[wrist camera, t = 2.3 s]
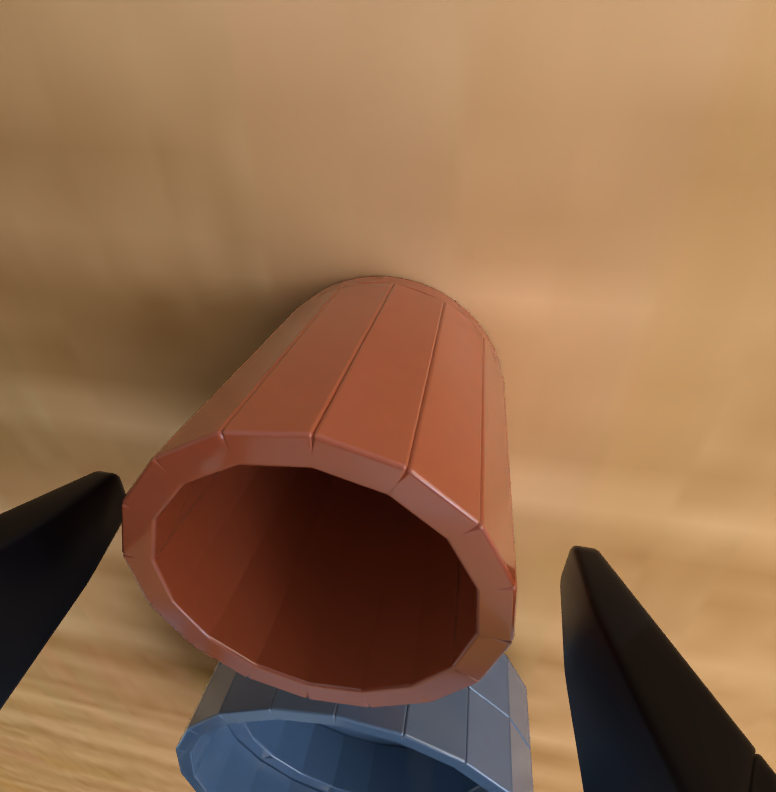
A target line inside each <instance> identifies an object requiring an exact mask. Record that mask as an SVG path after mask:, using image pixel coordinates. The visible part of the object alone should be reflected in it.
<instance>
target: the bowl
mask: <svg viewBox="0 0 776 792" xmlns="http://www.w3.org/2000/svg"><path fill="white" fill-rule="evenodd" d="M176 753H177V757H178V762H179V766H180V770H181V773H182V774H183V776H184V777H185V778H186V779H187V781H188V782H189V783H190V784H191V786H192V787H193V788H194V790H195V791H196V792H534V791H533V777H532V762H531V748H530V733H529V719H528V704H527V690H526V686H525V685H524V683H523V681H522V680H521V678H520V677H519V675H518V673H517V672H516V670H515V669H514V667H513V665H512V664H511V662H510V661H509V659H508V657H506V655H505V654H504V653H503V655H502V656H501V657H500V658H499V659H498V661H497V662H496V663H495V664H494V665H493V667H492V668H491V669H490V670H489V671H488V673H487V674H486V675H485V676H484V677H483V679H481V680H480V681H479V682H478V683H476V684H474V685H471V686H469V687H467V688H464V689H462V690H460V691H457V692H455V693H452V694H450V695H448V696H445V697H443V698H441V699H438V700H436V701H434V702H427V703H420V704H408V705H397V706H386V707H375V708H373V707H370V706H369V707H360V706H353V705H346V704H339V703H332V702H325V701H319V700H312V699H309V698H308V697H307V698H304V697H301V696H298V695H295V694H292V693H289V692H287V691H284V690H281V689H278V688H275V687H272V686H270V685H267V684H264V683H261V682H258V681H255V680H253V679H250V678H249V677H248V676H247V677H245V676H243V675H241V674H239V673H238V672H236V671H234V670H233V669H231V668H229V667H228V666H226V665H224V664H223V663H221V662H219V661H218V663H217V665H216V667H215V669H214V671H213V673H212V675H211V677H210V679H209V681H208V683H207V686H206V687H205V689H204V691H203V693H202V695H201V697H200V699H199V702H198V704H197V706H196V708H195V710H194V712H193V714H192V716H191V718H190V720H189V722H188V724H187V726H186V728H185V730H184V732H183V734H182V736H181V738H180V740H179V742H178V744H177V747H176Z"/></svg>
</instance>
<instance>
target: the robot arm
mask: <svg viewBox="0 0 776 792" xmlns="http://www.w3.org/2000/svg"><path fill="white" fill-rule="evenodd" d="M125 495H126V494H125V491H124V488H123V485H122V482H121V479H120V477H119V476H118V475H117V474H114V473H108V472H102V471H97V472H93V473H91V474H89V475H87V476H84V477H82V478H80V479H78V480H75V481H73V482H71V483H69V484H67V485H64V486H62V487H60V488H58V489H55V490H53V491H51V492H49V493H46V494H44V495H42V496H40V497H38V498H35V499H33V500H31V501H29V502H26V503H24V504H22V505H20V506H17V507H15V508H13V509H11V510H9V511H6V512H4V513H2V514H0V709H1V708H2V707H3V705H4V704H5V702H6V701H7V699H8V698H9V696H10V695H11V694H12V692H13V691H14V689H15V688H16V686H17V685H18V683H19V682H20V681H21V679H22V678H23V676H24V675H25V673H26V672H27V670H28V669H29V667H30V666H31V665H32V663H33V662H34V660H35V659H36V657H37V656H38V654H39V653H40V652H41V650H42V649H43V647H44V646H45V644H46V643H47V641H48V640H49V639H50V637H51V636H52V634H53V633H54V631H55V630H56V628H57V627H58V625H59V624H60V623H61V621H62V620H63V618H64V617H65V615H66V614H67V612H68V611H69V610H70V608H71V607H72V605H73V604H74V602H75V601H76V599H77V598H78V597H79V595H80V594H81V592H82V591H83V589H84V588H85V586H86V585H87V583H88V582H89V580H90V578H91V576H92V575H93V573H94V571H95V570H96V568H97V566H98V564H99V563H100V561H101V559H102V557H103V555H104V554H105V552H106V550H107V548H108V547H109V545H110V543H111V541H112V539H113V538H114V536H115V534H116V532H117V531H118V529H119V527H120V525H121V523H122V503H123V502H122V501H123V498H124V497H125ZM560 589H561V609H562V630H563V650H564V667H565V677H566V684H567V691H568V697H569V703H570V709H571V716H572V722H573V728H574V734H575V740H576V746H577V753H578V759H579V765H580V771H581V777H582V783H583V790H584V792H776V774H775V773H774V771H773V770H772V769H771V768H770V766H769V765H768V764H767V762H766V761H765V760H764V759H763V757H762V756H761V755H759V754H755V748H754V746H753V745H752V744H751V743H750V741H749V740H748V739H747V738H746V736H745V735H744V734H743V733H742V731H741V730H740V729H739V728H738V726H737V725H736V724H735V722H734V721H733V720H732V719H731V717H730V716H729V715H728V714H727V712H726V711H725V710H724V709H723V707H722V706H721V705H720V704H719V702H718V701H717V700H716V699H715V697H714V696H713V695H712V693H711V692H710V691H709V690H708V688H707V687H706V686H705V685H704V683H703V682H702V681H701V680H700V678H699V677H698V676H697V675H696V673H695V672H694V671H693V670H692V668H691V667H690V666H689V664H688V663H687V662H686V661H685V659H684V658H683V657H682V656H681V654H680V653H679V652H678V651H677V649H676V648H675V647H674V646H673V644H672V643H671V642H670V640H669V639H668V638H667V637H666V635H665V634H664V633H663V632H662V630H661V629H660V628H659V627H658V625H657V624H656V623H655V622H654V620H653V619H652V618H651V617H650V615H649V614H648V613H647V611H646V610H645V609H644V608H643V606H642V605H641V604H640V603H639V601H638V600H637V599H636V598H635V596H634V595H633V594H632V593H631V591H630V590H629V589H628V588H627V586H626V585H625V584H624V582H623V581H622V580H621V579H620V577H619V576H618V575H617V574H616V572H615V571H614V570H613V569H612V567H611V566H610V565H609V564H608V562H607V561H606V560H605V559H604V557H603V556H602V555H601V553H600V552H599V551H597V550H596V549H594V548H588V547H582V546H573V547H572V548H571V550H570V552H569V555H568V558H567V561H566V564H565V567H564V569H563V572H562V576H561V584H560Z"/></svg>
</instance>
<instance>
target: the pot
mask: <svg viewBox="0 0 776 792" xmlns="http://www.w3.org/2000/svg"><path fill="white" fill-rule="evenodd" d="M122 502H123V503H122V552H123V553H124V558H125V560H126V562H127V564H128V566H129V568H130V570H131V571H132V573H133V575H134V577H135V579H136V581H137V583H138V585H139V586H140V588H141V590H142V592H143V594H144V596H145V598H146V599H147V601H148V602H150V603H149V604H150V605H151V606H152V607H153V608H154V609H155V610H156V611H157V612H158V613H159V614H160V615H161V616H162V617H163V618H164V619H165V620H166V621H167V622H168V623H169V624H170V625H171V626H172V627H173V628H174V629H175V630H177V631H178V632H179V633H180V634H181V635H182V636H183V637H184V638H185V639H186V640H187V641H188V642H189V643H190V644H192V645H193V646H194V647H196V648H198V649H199V650H201V651H203V652H204V653H206V654H208V655H209V656H211V657H213V658H214V659H216V660H218V661H219V662H221V663H223V664H224V665H226V666H228V667H229V668H231V669H233V670H234V671H236V672H238V673H239V674H241V675H243V676H245V677H247V676H248V677H249V678H250V679H253V680H255V681H258V682H261V683H264V684H267V685H270V686H272V687H275V688H278V689H281V690H284V691H287V692H289V693H292V694H295V695H298V696H301V697H304V698H307V697H308V698H309V699H312V700H319V701H325V702H332V703H339V704H346V705H353V706H360V707H369V706H370V707H373V708H375V707H386V706H397V705H408V704H420V703H427V702H434V701H436V700H438V699H441V698H443V697H445V696H448V695H450V694H452V693H455V692H457V691H460V690H462V689H464V688H467V687H469V686H471V685H474V684H476V683H478V682H479V681H480V680H481V679H483V677H484V676H485V675H486V674H487V673H488V671H489V670H490V669H491V668H492V667H493V665H494V664H495V663H496V662H497V661H498V659H499V658H500V657H501V656H502V655H503V653H504V652H505V651H506V650H507V649H508V647H509V646H510V645H511V643H512V640H513V638H514V631H515V616H516V600H517V577H516V561H515V546H514V530H513V515H512V499H511V483H510V468H509V452H508V437H507V421H506V406H505V390H504V381H503V376H502V373H501V368H500V364H499V360H498V357H497V355H496V352H495V349H494V347H493V345H492V343H491V341H490V340H489V338H488V336H487V334H486V333H485V331H484V330H483V329H482V327H481V326H480V325H479V323H478V322H477V321H476V320H475V319H474V318H473V317H472V316H471V315H470V314H469V313H468V312H467V310H465V309H464V308H463V307H462V306H460V305H459V304H458V303H456V302H455V301H454V300H453V299H451V298H449V297H448V296H446V295H444V294H443V293H441V292H439V291H437V290H435V289H433V288H430V287H428V286H426V285H423V284H420V283H417V282H414V281H410V280H407V279H401V278H394V277H378V276H371V277H362V278H355V279H351V280H347V281H343V282H340V283H337V284H335V285H332V286H330V287H328V288H326V289H324V290H322V291H321V292H319V293H317V294H315V295H314V296H313V297H311V298H310V299H309V300H308V301H306V302H305V303H304V304H302V305H300V306H299V307H298V308H297V309H296V310H295V311H294V312H293V313H292V314H291V315H290V316H289V317H288V318H287V319H286V320H285V321H284V322H283V323H282V324H281V325H280V326H279V327H278V328H277V329H276V330H275V331H274V332H273V333H272V334H271V335H270V336H269V338H268V339H267V340H266V341H265V342H264V343H263V344H262V345H261V346H260V347H259V348H258V349H257V350H256V351H255V352H254V353H253V354H252V355H251V356H250V357H249V358H248V359H247V360H246V361H245V362H244V363H243V364H242V365H241V366H240V368H239V369H238V370H237V371H236V372H235V373H234V374H233V375H232V376H231V377H230V378H229V379H228V380H227V381H226V382H225V383H224V384H223V385H222V386H221V387H220V388H219V389H218V390H217V391H216V392H215V393H214V394H213V395H212V396H211V397H210V399H209V400H208V401H207V402H206V403H205V404H204V405H203V406H202V407H201V408H200V409H199V410H198V411H197V412H196V413H195V414H194V415H193V416H192V417H191V418H190V419H189V420H188V421H187V422H186V423H185V424H184V425H183V426H182V427H181V429H180V430H179V431H178V432H177V433H176V434H175V435H174V436H173V437H172V438H171V439H170V440H169V441H168V442H167V443H166V444H165V445H164V446H163V447H162V448H161V449H160V450H159V451H158V452H157V453H156V454H155V455H154V456H153V457H152V459H151V460H150V461H149V463H148V464H147V466H146V467H145V469H144V470H143V471H142V473H141V474H140V476H139V477H138V478H137V480H136V481H135V483H134V484H133V486H132V487H131V488H130V490H129V491H128V493H127V494H126V495H125V497H124V498H123V501H122Z"/></svg>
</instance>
